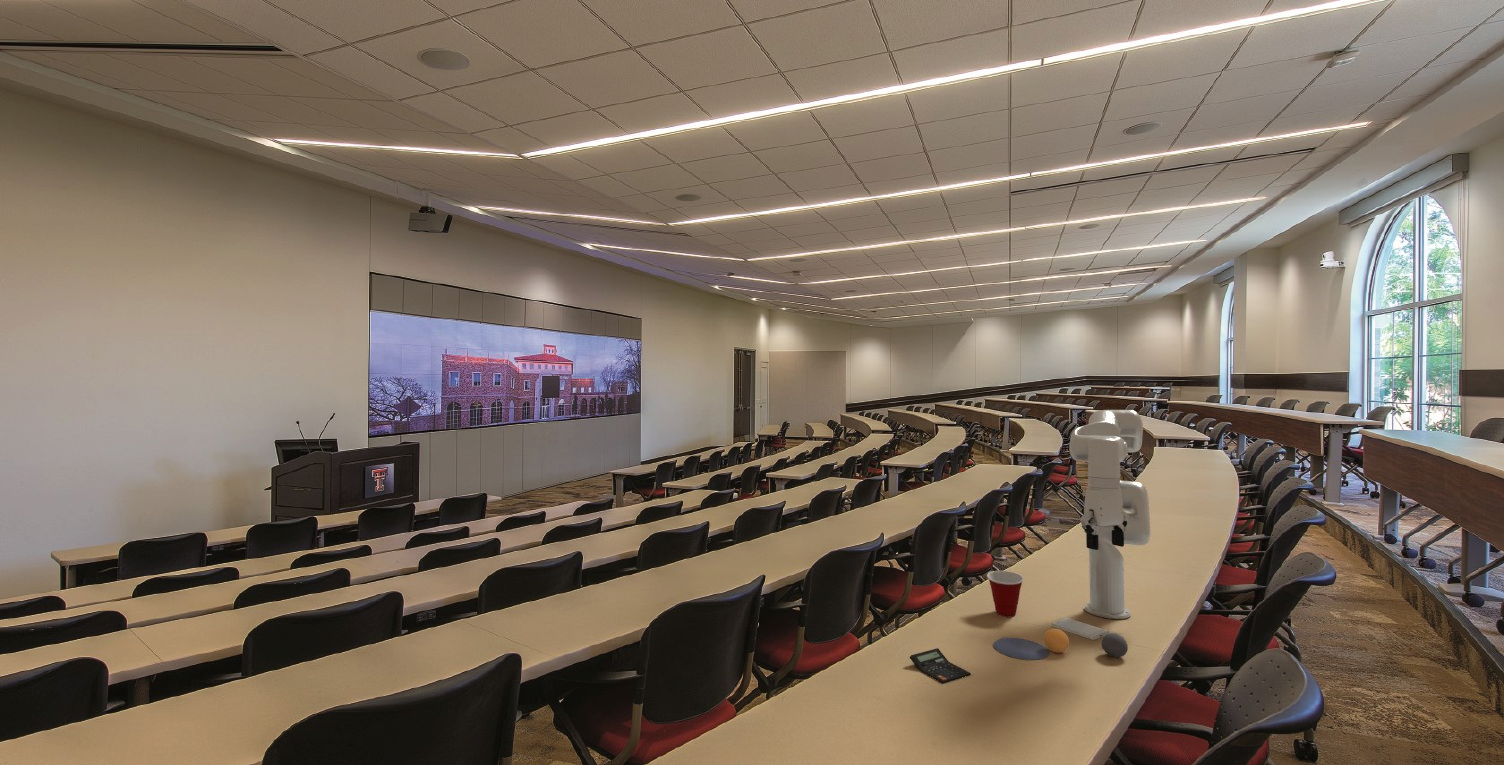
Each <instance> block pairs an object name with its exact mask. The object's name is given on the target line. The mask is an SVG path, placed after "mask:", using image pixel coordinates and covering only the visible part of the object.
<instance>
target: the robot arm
mask: <svg viewBox="0 0 1504 765" xmlns="http://www.w3.org/2000/svg"><path fill="white" fill-rule="evenodd" d="M1143 433H1144V423H1143V420H1142V418H1141V415H1140V414H1139V413H1138V412H1137V411H1135V410H1133V409H1103V410H1097V411H1095V412H1093V413H1092V414H1091V415H1090V416H1089V419H1088V424H1085V425H1082V426H1078V427H1077V428H1075V429H1074V430H1073V431H1072V432H1071V435H1070V439H1069V440H1070V441H1069V446H1068V447H1069V448H1068V449H1069V455H1070V456H1071V459H1072V460H1075V461H1077V462H1087V466H1088V467H1087V471H1088V472H1087V477H1088V478H1087V479H1088V480H1087V481H1088V484H1087V485H1088V488H1086V492H1085V495H1084V496H1085V497H1084V503H1083V505H1084V507H1083V515H1082V516H1080V517H1079V521H1080V524H1081V527H1082V529H1083V530H1084V531H1083V532H1084V533H1085V535H1086V536H1085V537H1086V545H1085V546H1086V548H1087V549H1088V562H1089V564H1088V568H1089V576H1088V577H1089V578H1088V579H1089V602H1087V603H1085V604H1084V610H1085V611H1086V612H1087V613H1089V614H1091V615H1093V616H1097V617H1100V618H1104V619H1111V620H1123V619H1128V618H1129V617H1131V614H1132V612H1131V610H1130V609H1129V608H1127V607H1126V606H1125V604H1126V601H1125V565H1124V564H1125V562H1124V561H1125V560H1124V557H1123V554H1122V553H1121V551H1120V550H1119V549H1118V547H1122V548H1123V547H1124V546H1125V545H1130V546H1133V545H1134V546H1146V545H1147V544H1149V542H1150V540H1151V519H1150V506H1149V503H1150V502H1149V493H1148V490H1147V487H1146V486H1145V485H1144V484H1143V483H1142V482H1138V481H1129V480H1121V463H1122V462H1123V461H1124V460H1125V458H1126V457H1128V453H1136V452H1139V451H1140V449H1141V448H1142V445H1143V435H1144V434H1143ZM1129 512H1130V513H1129Z"/></svg>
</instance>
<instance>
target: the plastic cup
mask: <svg viewBox="0 0 1504 765" xmlns="http://www.w3.org/2000/svg"><path fill="white" fill-rule="evenodd" d="M986 577H987V579H988V581H989V585H990V588H991V594H992V599H993V604H994V609H995V612H996V614H997V615H998V616H1002V617H1015V616H1016V614H1017V612H1018V604H1019V599H1020V592H1021V588H1022V584H1023V582H1024V579H1025V578H1024V576H1023V575H1022V574H1020V573H1016V572H1014V571H1009V570H995V571H990V572H988V573H987V575H986Z"/></svg>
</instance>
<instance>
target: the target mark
mask: <svg viewBox="0 0 1504 765" xmlns="http://www.w3.org/2000/svg"><path fill="white" fill-rule="evenodd" d="M993 648H994V649H995V650H996V651H997V652H998V651H999V652H998V653H1000V654H1002V655H1004V656H1007V657H1010V658H1013V659H1017V658H1019V660H1026V661H1037V660H1043V659H1045V658H1048V657H1049V655H1050V651H1049V650H1050V649H1049V648H1048V647H1047V646H1046V645H1043V644H1041V643H1039V642H1036V641H1034V640H1030V639H1026V638H1020V637H1004V638H999V639H996V640H995V641H993Z"/></svg>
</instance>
